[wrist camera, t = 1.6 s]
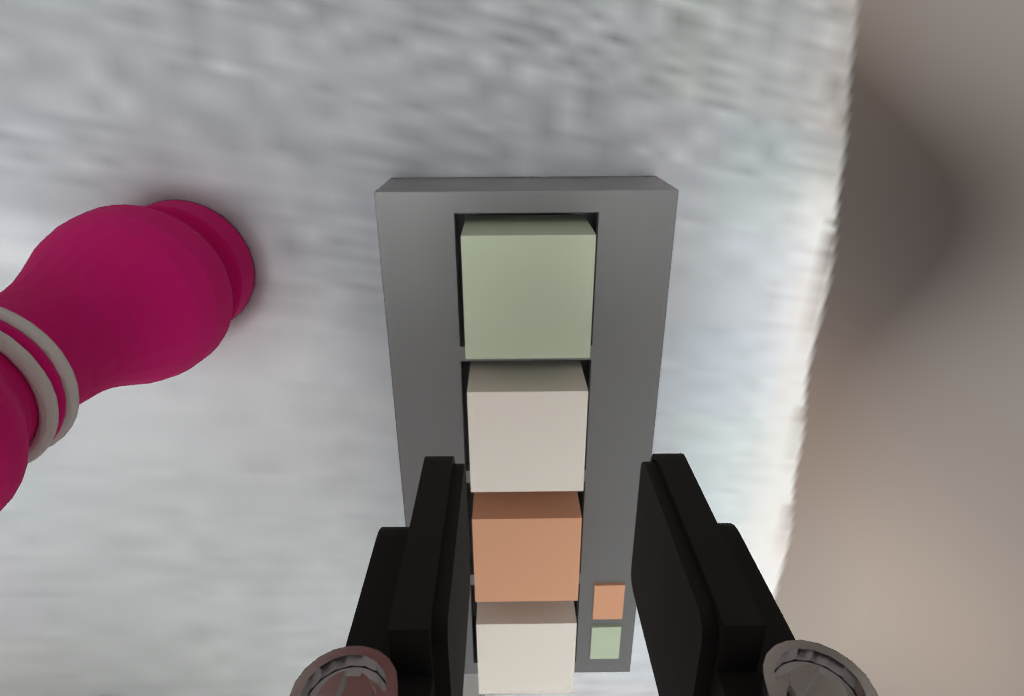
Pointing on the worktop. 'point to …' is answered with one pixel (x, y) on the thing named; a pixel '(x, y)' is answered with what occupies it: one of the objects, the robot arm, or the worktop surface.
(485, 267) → the key sage
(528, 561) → the key terracotta
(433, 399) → the keypad
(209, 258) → the pepper mill
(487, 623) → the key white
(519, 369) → the key white mid
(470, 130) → the worktop surface
